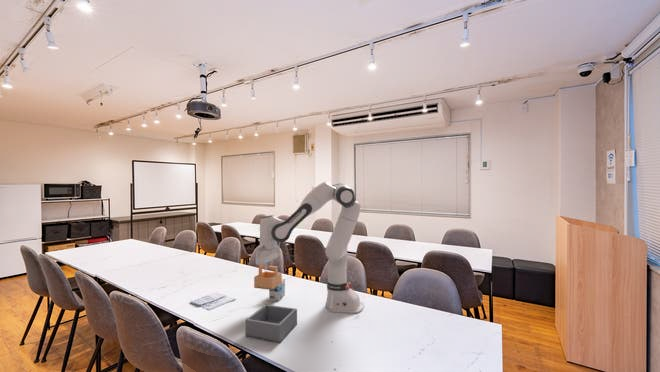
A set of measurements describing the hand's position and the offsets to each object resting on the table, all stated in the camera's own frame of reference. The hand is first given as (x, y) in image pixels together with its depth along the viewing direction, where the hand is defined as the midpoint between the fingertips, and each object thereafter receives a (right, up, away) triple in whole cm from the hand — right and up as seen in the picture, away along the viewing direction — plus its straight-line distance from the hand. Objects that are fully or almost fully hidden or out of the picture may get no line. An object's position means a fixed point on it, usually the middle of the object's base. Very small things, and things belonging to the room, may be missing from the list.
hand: (268, 268), depth 156 cm
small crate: (0, -9, 0) cm, 9 cm away
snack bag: (-37, -25, +15) cm, 47 cm away
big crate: (+7, -24, -21) cm, 33 cm away
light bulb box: (+1, -24, +20) cm, 31 cm away
